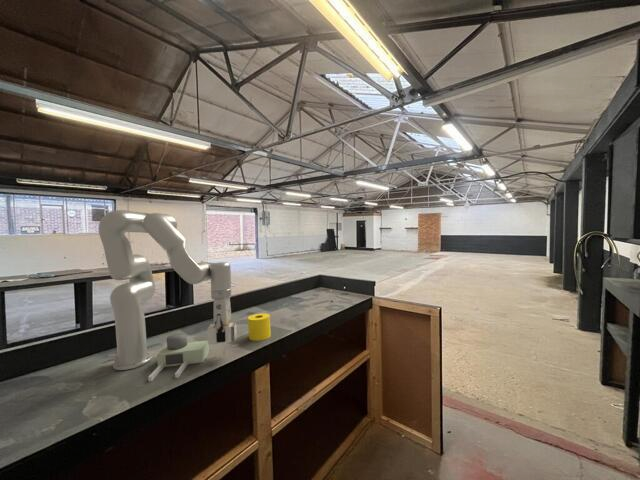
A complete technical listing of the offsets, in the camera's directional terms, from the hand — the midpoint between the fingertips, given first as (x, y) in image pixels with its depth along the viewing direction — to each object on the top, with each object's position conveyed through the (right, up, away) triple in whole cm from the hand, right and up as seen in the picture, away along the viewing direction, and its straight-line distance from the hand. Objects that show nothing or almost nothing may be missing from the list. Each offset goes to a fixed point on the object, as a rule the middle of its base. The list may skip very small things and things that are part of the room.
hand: (222, 338), depth 107 cm
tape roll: (+11, -6, +20) cm, 23 cm away
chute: (0, -1, 0) cm, 1 cm away
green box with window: (-14, -8, -5) cm, 17 cm away
